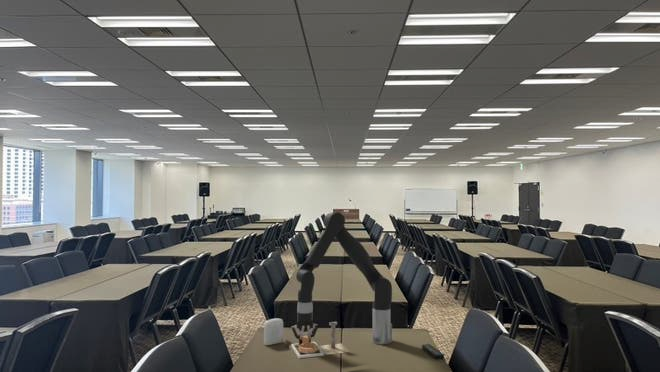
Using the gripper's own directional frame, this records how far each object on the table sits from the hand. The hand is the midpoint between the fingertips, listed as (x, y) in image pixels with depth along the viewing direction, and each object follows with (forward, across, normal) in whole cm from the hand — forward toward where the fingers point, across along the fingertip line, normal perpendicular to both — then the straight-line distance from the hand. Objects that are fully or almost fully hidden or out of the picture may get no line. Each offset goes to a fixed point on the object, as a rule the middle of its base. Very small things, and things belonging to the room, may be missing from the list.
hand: (304, 346), depth 201 cm
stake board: (+2, -13, +6) cm, 15 cm away
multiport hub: (+2, -58, +22) cm, 62 cm away
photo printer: (+2, +13, -14) cm, 19 cm away
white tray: (+2, 0, +5) cm, 5 cm away
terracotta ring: (0, 0, +5) cm, 5 cm away
